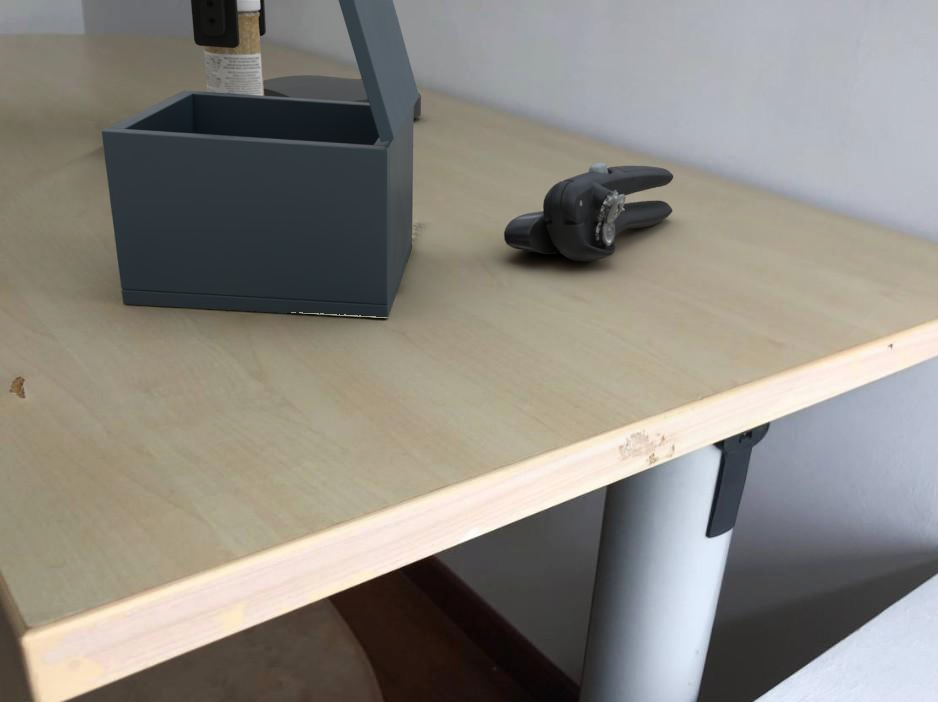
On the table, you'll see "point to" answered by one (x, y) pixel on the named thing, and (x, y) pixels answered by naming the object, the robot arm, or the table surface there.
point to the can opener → (590, 212)
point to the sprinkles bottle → (238, 57)
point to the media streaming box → (322, 89)
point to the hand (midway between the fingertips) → (232, 38)
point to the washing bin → (260, 204)
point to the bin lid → (381, 62)
